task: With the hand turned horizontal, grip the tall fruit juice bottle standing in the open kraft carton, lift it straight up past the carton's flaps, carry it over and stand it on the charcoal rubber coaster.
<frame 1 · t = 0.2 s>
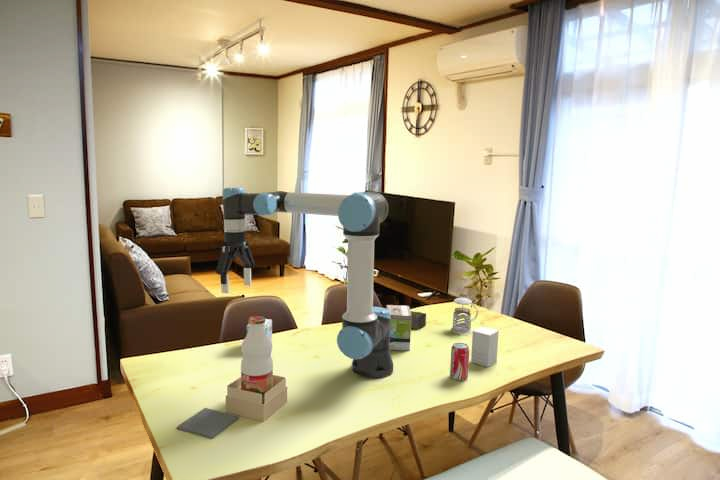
hand: (237, 289, 183), 27 cm above the table, tool pointing down, fingers open, 13 cm apart
tea box: (397, 344, 209), on the table
carton: (257, 406, 153), on the table
fruit juice: (257, 407, 153), resting in carton
soda can: (458, 377, 178), on the table
coaster: (208, 423, 143), on the table
french press: (463, 331, 228), on the table
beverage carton: (403, 325, 235), on the table
supplement box: (483, 362, 192), on the table
light bulb box: (259, 348, 200), on the table
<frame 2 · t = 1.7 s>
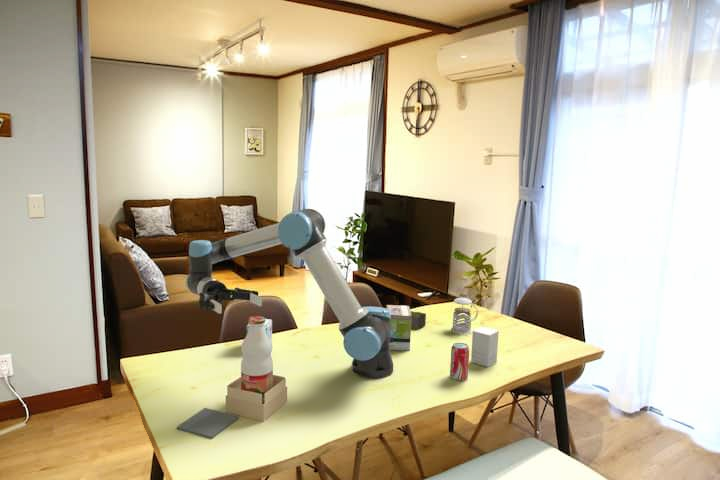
hand: (241, 305, 156), 29 cm above the table, tool horizontal, fingers open, 13 cm apart
nothing on the table moved.
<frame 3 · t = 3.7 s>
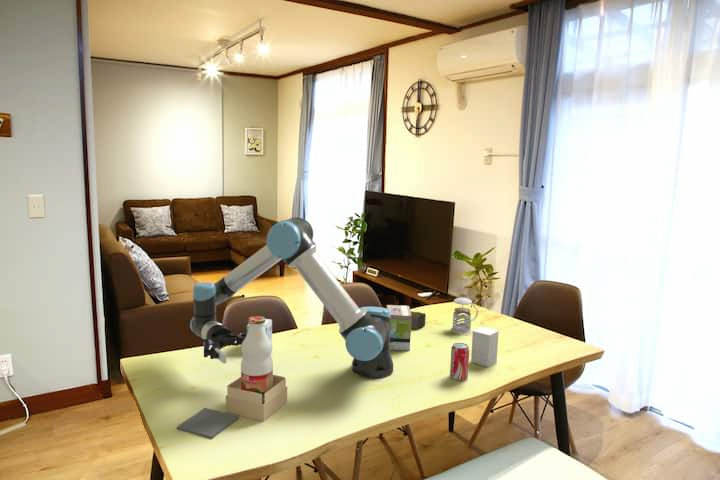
hand: (245, 354, 155), 15 cm above the table, tool horizontal, fingers open, 13 cm apart
nothing on the table moved.
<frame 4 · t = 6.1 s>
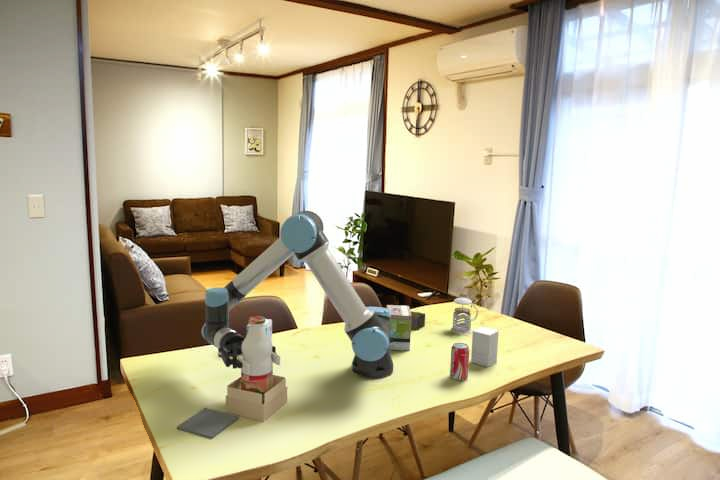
hand: (264, 364, 147), 15 cm above the table, tool horizontal, fingers closed on fruit juice, 9 cm apart
fruit juice: (257, 407, 153), resting in carton, touching gripper
everything else where it was.
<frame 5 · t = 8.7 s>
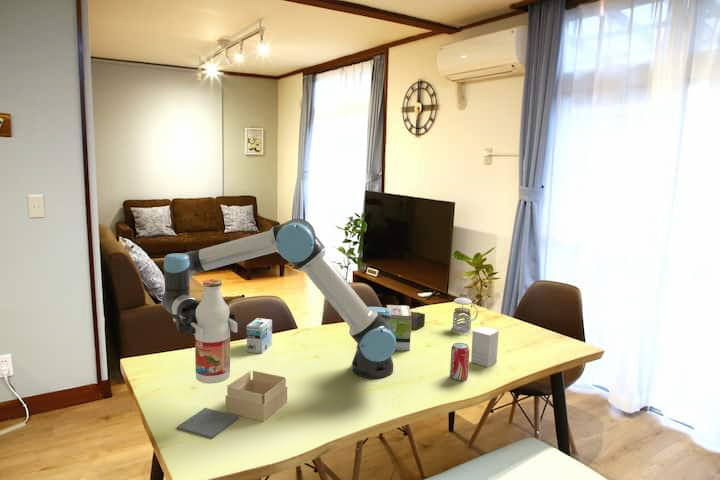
hand: (219, 331, 137), 28 cm above the table, tool horizontal, fingers closed on fruit juice, 9 cm apart
fruit juice: (213, 377, 143), point 13 cm above the table, touching gripper
everything else where it was.
when the fingers open (16 cm above the table, at t = 11.4 s): fruit juice stays where it is, resting on coaster.
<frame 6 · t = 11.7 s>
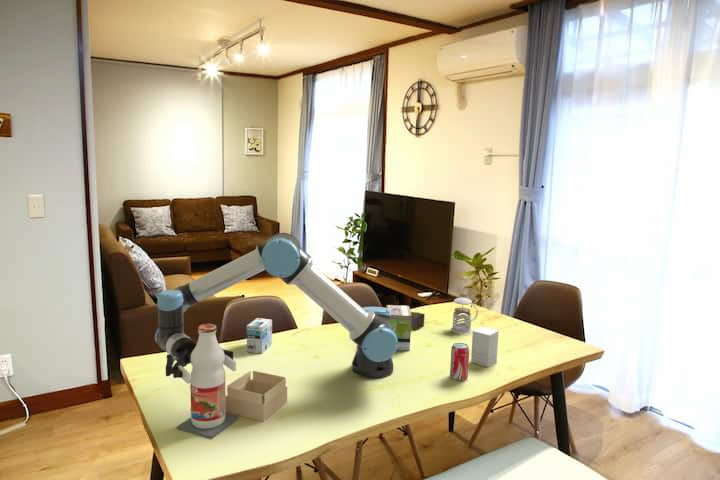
hand: (212, 372, 137), 16 cm above the table, tool horizontal, fingers open, 12 cm apart
fruit juice: (208, 421, 143), resting on coaster
everything else where it was.
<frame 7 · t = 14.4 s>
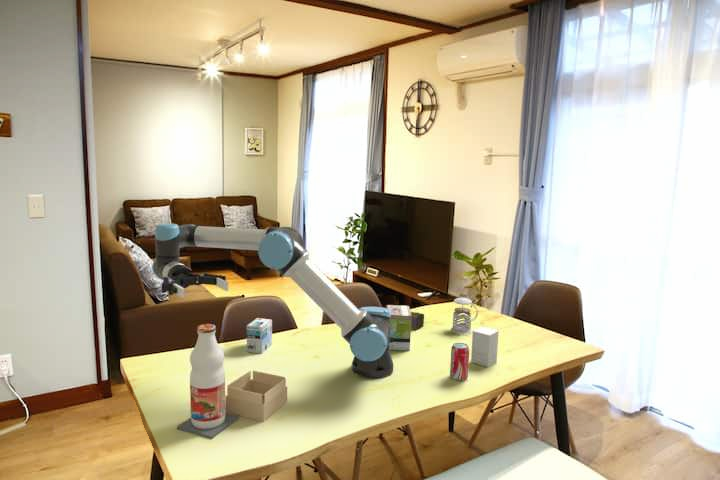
hand: (205, 289, 149), 36 cm above the table, tool horizontal, fingers open, 13 cm apart
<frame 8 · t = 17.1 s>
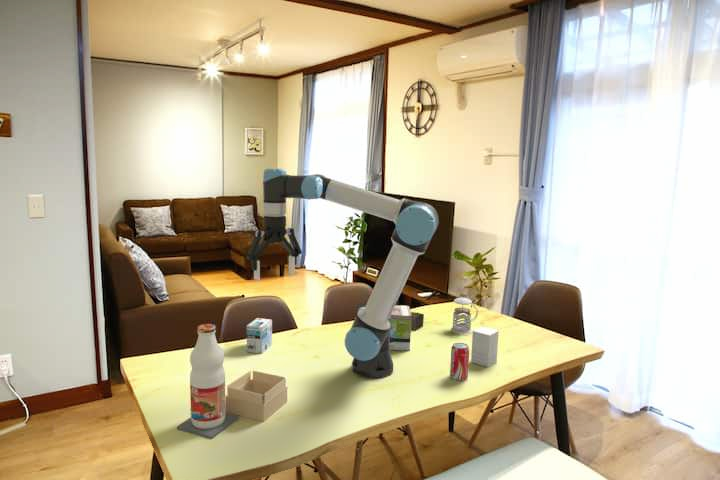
hand: (274, 277, 171), 35 cm above the table, tool pointing down, fingers open, 13 cm apart
at the end: fruit juice inside the target area on the coaster (0.1 cm from its centre), point 0.4 cm above the coaster's base; fruit juice tilted 0°; the gripper is holding nothing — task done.
